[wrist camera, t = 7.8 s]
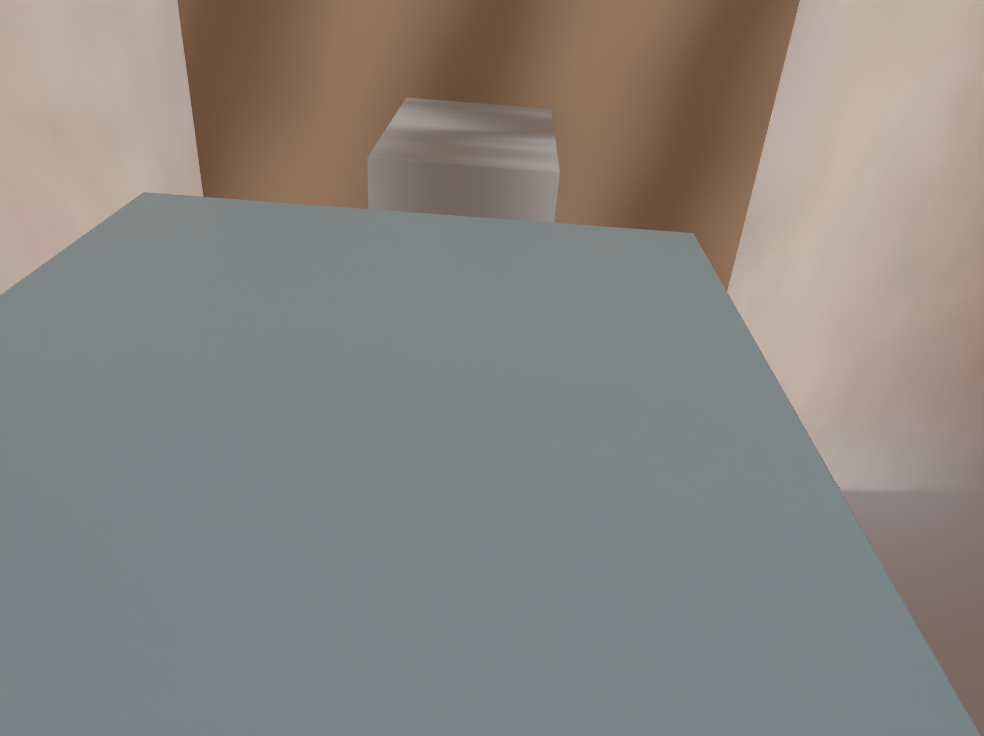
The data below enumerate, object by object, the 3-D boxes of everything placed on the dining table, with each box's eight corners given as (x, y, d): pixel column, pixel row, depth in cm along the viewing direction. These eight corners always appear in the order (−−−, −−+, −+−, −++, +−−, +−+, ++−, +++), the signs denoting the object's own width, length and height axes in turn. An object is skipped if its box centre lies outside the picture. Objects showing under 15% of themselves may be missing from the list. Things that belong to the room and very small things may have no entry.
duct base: (801, -86, 20) (937, -86, 13) (691, 374, 27) (744, 520, 20) (183, -135, 20) (15, -158, 13) (240, 340, 27) (149, 475, 20)
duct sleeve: (692, 233, 10) (1134, 1007, 3) (612, 614, 13) (717, 1370, 6) (143, 192, 10) (-815, 880, 3) (210, 587, 13) (-130, 1321, 6)
